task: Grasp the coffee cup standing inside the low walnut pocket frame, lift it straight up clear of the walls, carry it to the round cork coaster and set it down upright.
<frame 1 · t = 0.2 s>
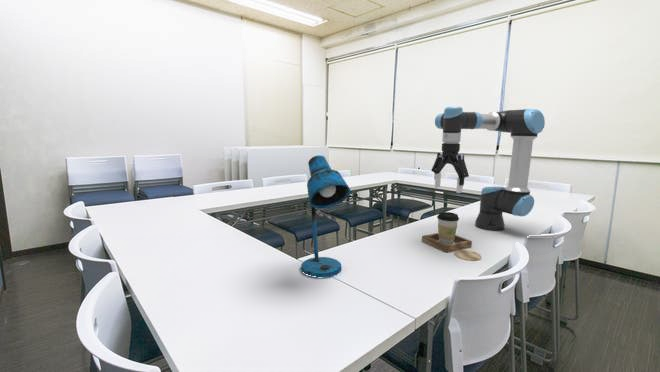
hand: (447, 189, 146), 28 cm above the table, fingers open, 13 cm apart
cork coaster: (467, 255, 142), on the table
coffee cup: (446, 244, 155), resting in pocket frame
desk lamp: (323, 271, 126), on the table
pocket frame: (446, 244, 155), on the table
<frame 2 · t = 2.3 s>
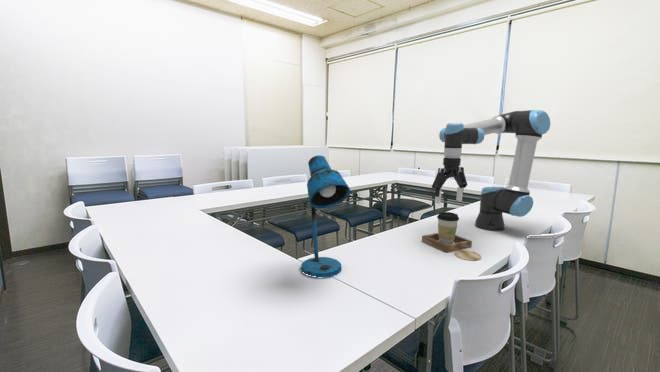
hand: (448, 202, 152), 21 cm above the table, fingers open, 13 cm apart
nothing on the table moved.
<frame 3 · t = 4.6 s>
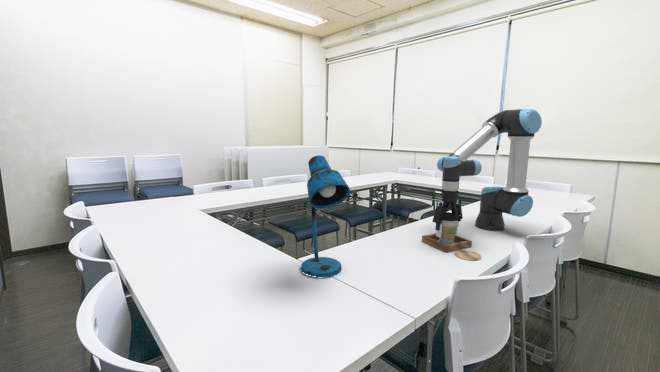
hand: (446, 235, 154), 5 cm above the table, fingers closed on coffee cup, 10 cm apart
coffee cup: (446, 244, 155), resting in pocket frame, touching gripper
everything else where it was.
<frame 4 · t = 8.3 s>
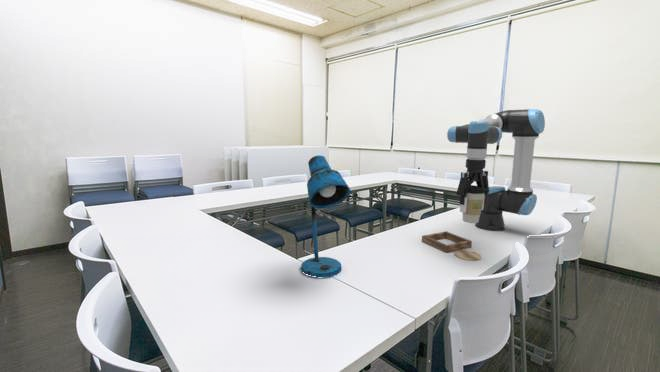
hand: (471, 210, 138), 20 cm above the table, fingers closed on coffee cup, 10 cm apart
coffee cup: (470, 221, 139), point 16 cm above the table, touching gripper
everything else where it was.
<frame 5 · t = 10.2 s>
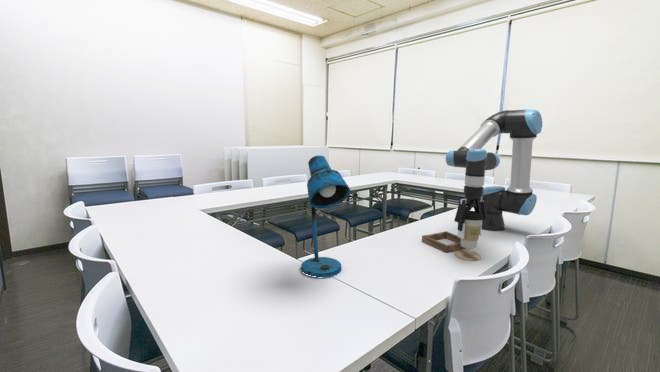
hand: (469, 235, 140), 9 cm above the table, fingers closed on coffee cup, 10 cm apart
coffee cup: (468, 246, 141), point 4 cm above the table, touching gripper
everything else where it was.
when the fingers open (6 cm above the table, at t = 11.8 s): coffee cup stays where it is, resting on cork coaster.
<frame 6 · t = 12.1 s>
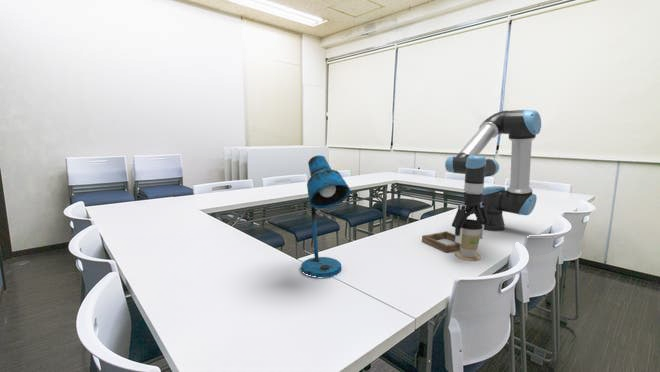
hand: (469, 240, 140), 7 cm above the table, fingers open, 13 cm apart
coffee cup: (467, 255, 142), resting on cork coaster
everything else where it was.
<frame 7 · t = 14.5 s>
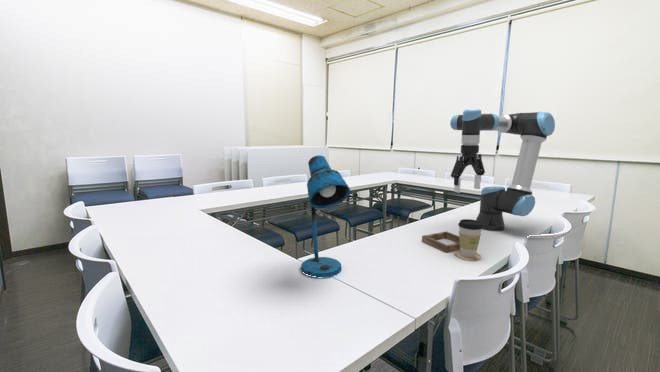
hand: (467, 190, 149), 27 cm above the table, fingers open, 13 cm apart
nothing on the table moved.
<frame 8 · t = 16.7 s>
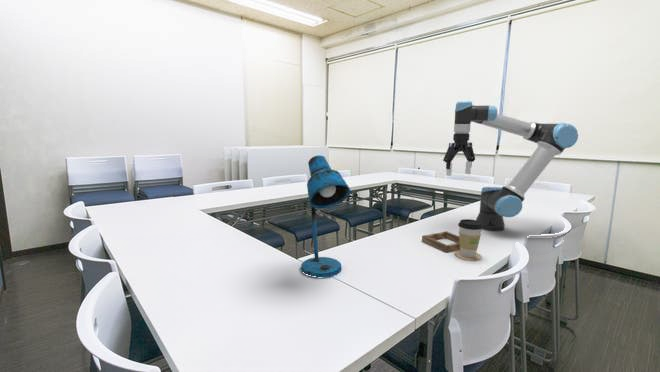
hand: (458, 174, 165), 32 cm above the table, fingers open, 13 cm apart
nothing on the table moved.
at the end: coffee cup inside the target area on the cork coaster (0.0 cm from its centre), point 0.2 cm above the cork coaster's base; coffee cup tilted 0°; the gripper is holding nothing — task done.
